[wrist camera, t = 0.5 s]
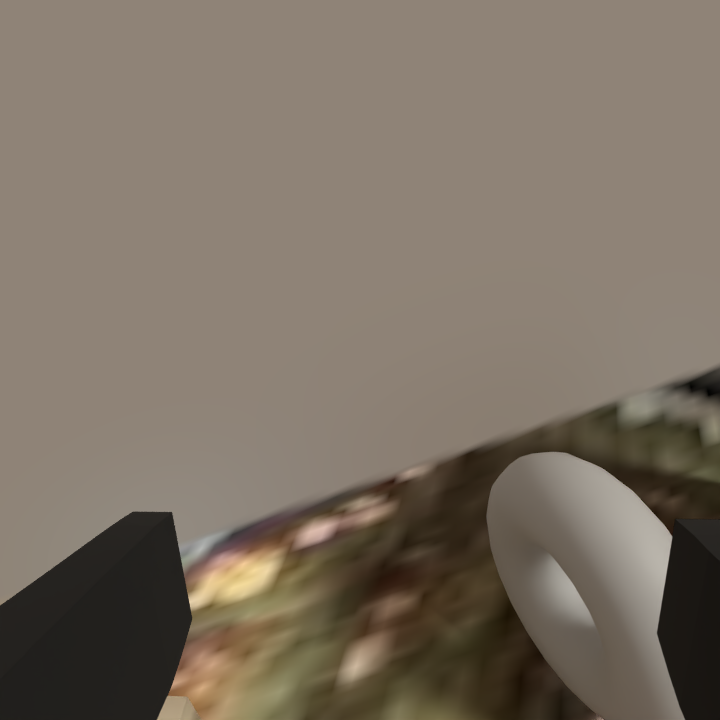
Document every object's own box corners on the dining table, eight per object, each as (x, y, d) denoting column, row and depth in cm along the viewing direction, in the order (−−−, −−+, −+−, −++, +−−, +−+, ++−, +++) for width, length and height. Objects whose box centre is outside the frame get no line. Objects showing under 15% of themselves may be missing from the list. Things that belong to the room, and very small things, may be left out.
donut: (470, 578, 29) (466, 418, 23) (533, 546, 30) (546, 383, 24) (632, 809, 21) (692, 663, 15) (710, 757, 22) (796, 600, 16)
